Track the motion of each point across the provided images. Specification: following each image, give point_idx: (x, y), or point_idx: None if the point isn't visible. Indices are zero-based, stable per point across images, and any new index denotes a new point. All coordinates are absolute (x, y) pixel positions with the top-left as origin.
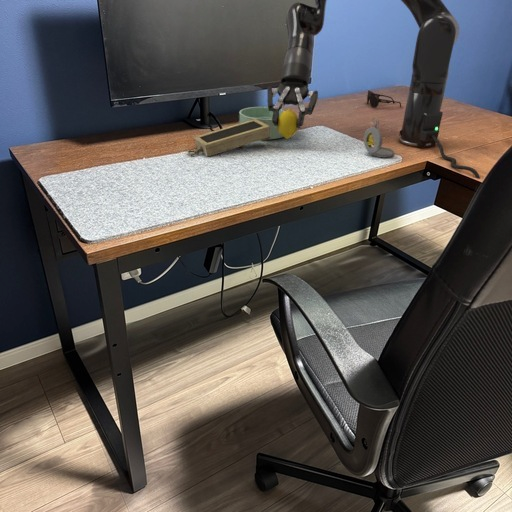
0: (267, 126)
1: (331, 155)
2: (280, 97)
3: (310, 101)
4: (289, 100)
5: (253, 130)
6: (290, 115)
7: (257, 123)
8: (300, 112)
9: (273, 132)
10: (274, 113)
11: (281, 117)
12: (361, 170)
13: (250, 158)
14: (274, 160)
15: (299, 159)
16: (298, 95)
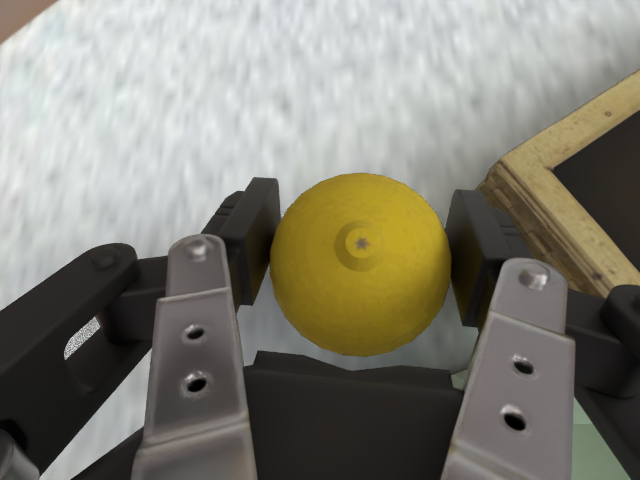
0: (514, 153)
1: (122, 190)
2: (551, 362)
3: (44, 328)
4: (374, 378)
5: (601, 99)
6: (336, 184)
7: (618, 250)
8: (231, 233)
9: (460, 383)
10: (513, 250)
11: (423, 198)
12: (25, 34)
13: (514, 53)
14: (395, 56)
15: (279, 97)
16: (203, 385)
